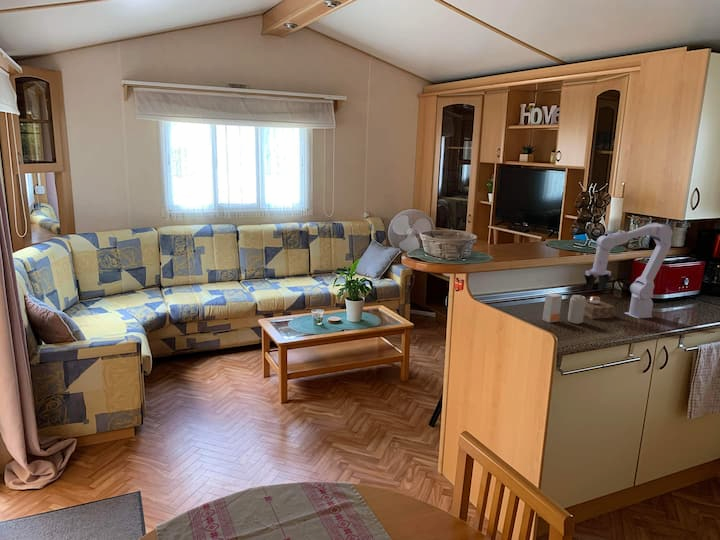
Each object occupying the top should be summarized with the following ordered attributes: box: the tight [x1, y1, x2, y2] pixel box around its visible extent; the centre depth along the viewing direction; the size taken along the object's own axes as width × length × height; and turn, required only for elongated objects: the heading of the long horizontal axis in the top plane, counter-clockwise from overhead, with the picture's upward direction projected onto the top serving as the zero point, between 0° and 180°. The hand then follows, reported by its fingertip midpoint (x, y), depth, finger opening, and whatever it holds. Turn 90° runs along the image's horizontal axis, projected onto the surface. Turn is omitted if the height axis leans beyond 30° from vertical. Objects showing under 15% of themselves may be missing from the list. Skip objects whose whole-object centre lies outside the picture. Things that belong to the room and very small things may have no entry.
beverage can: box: [567, 294, 587, 325], centre depth 245 cm, size 6×6×12 cm
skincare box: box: [541, 293, 563, 323], centre depth 245 cm, size 6×4×12 cm
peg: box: [589, 295, 601, 305], centre depth 259 cm, size 4×4×4 cm
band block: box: [584, 298, 616, 320], centre depth 260 cm, size 13×13×5 cm
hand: (594, 290), depth 257 cm, fingers open, 7 cm apart
